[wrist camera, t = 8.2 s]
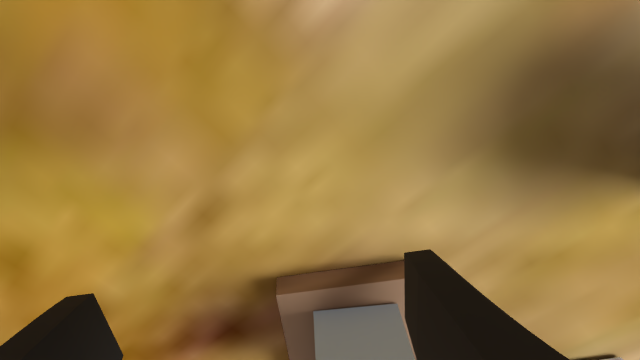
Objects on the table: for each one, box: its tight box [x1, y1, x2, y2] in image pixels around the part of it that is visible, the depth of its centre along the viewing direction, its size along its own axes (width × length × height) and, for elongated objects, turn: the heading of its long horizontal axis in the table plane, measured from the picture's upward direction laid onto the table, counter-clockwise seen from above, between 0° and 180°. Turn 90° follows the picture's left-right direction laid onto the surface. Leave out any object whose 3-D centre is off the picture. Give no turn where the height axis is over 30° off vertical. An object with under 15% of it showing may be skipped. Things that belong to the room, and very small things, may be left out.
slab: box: [276, 260, 417, 360], centre depth 23 cm, size 8×8×2 cm
